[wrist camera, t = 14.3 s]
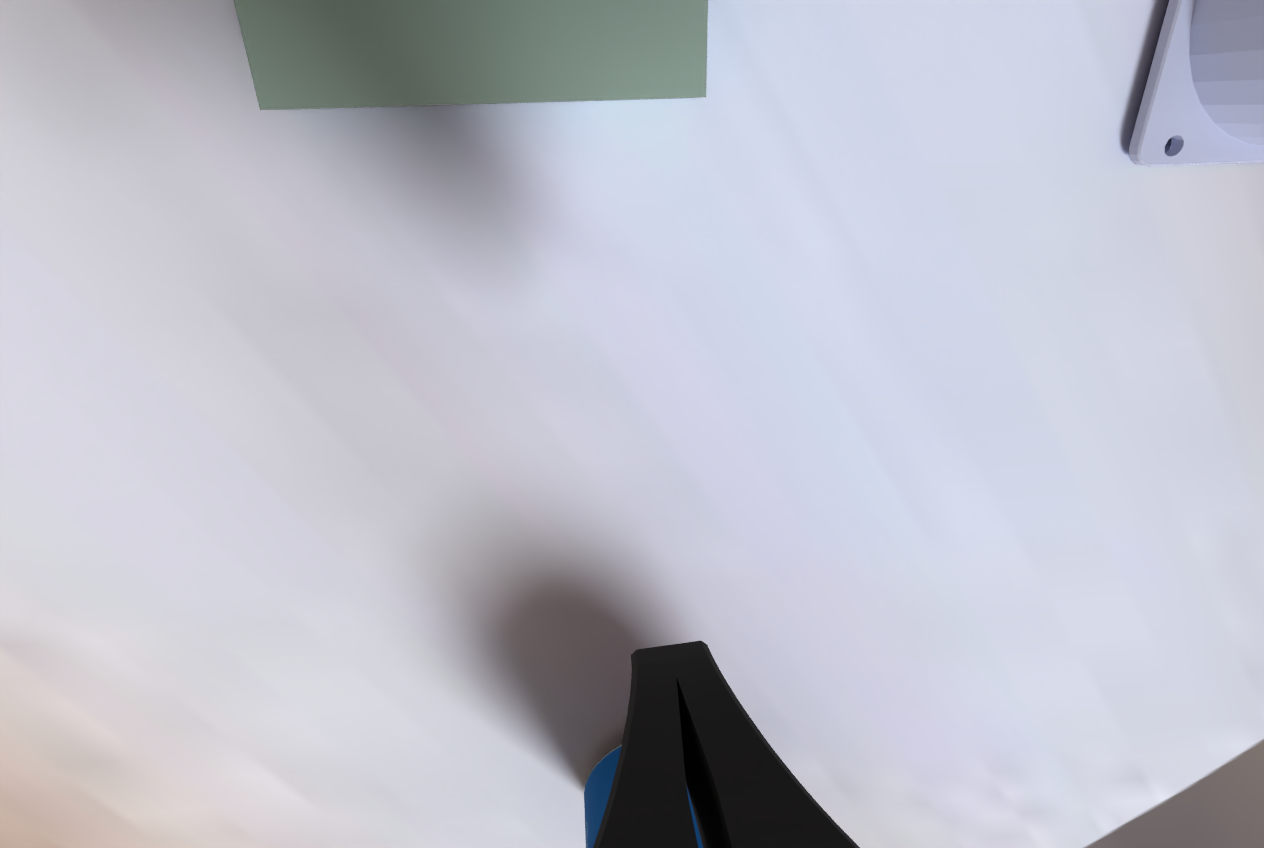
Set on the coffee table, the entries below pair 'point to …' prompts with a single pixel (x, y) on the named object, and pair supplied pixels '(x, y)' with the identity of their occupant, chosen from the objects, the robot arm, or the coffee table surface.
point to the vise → (472, 51)
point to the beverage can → (607, 796)
